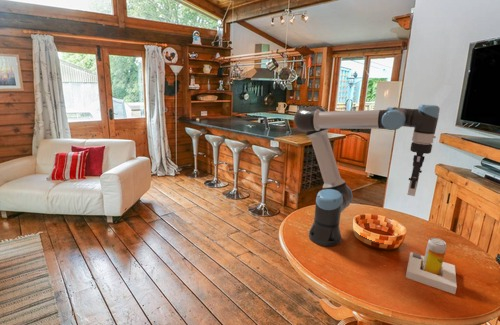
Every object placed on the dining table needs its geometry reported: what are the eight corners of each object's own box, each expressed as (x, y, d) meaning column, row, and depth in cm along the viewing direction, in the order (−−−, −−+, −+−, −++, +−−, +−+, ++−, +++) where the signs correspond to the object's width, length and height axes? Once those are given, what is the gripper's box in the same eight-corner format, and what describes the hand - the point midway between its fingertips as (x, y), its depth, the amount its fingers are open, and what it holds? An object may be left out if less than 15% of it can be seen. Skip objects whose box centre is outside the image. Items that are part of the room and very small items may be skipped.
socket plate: (405, 277, 112) (407, 269, 111) (409, 258, 125) (410, 250, 124) (454, 294, 104) (457, 285, 103) (453, 271, 117) (455, 263, 116)
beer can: (441, 280, 111) (450, 246, 107) (424, 277, 112) (432, 244, 108) (435, 271, 117) (443, 238, 113) (418, 268, 118) (426, 236, 114)
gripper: (431, 149, 107) (420, 201, 112) (433, 139, 127) (423, 184, 133) (409, 146, 110) (399, 197, 116) (414, 137, 131) (405, 181, 136)
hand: (412, 190), depth 124 cm, fingers open, 13 cm apart
